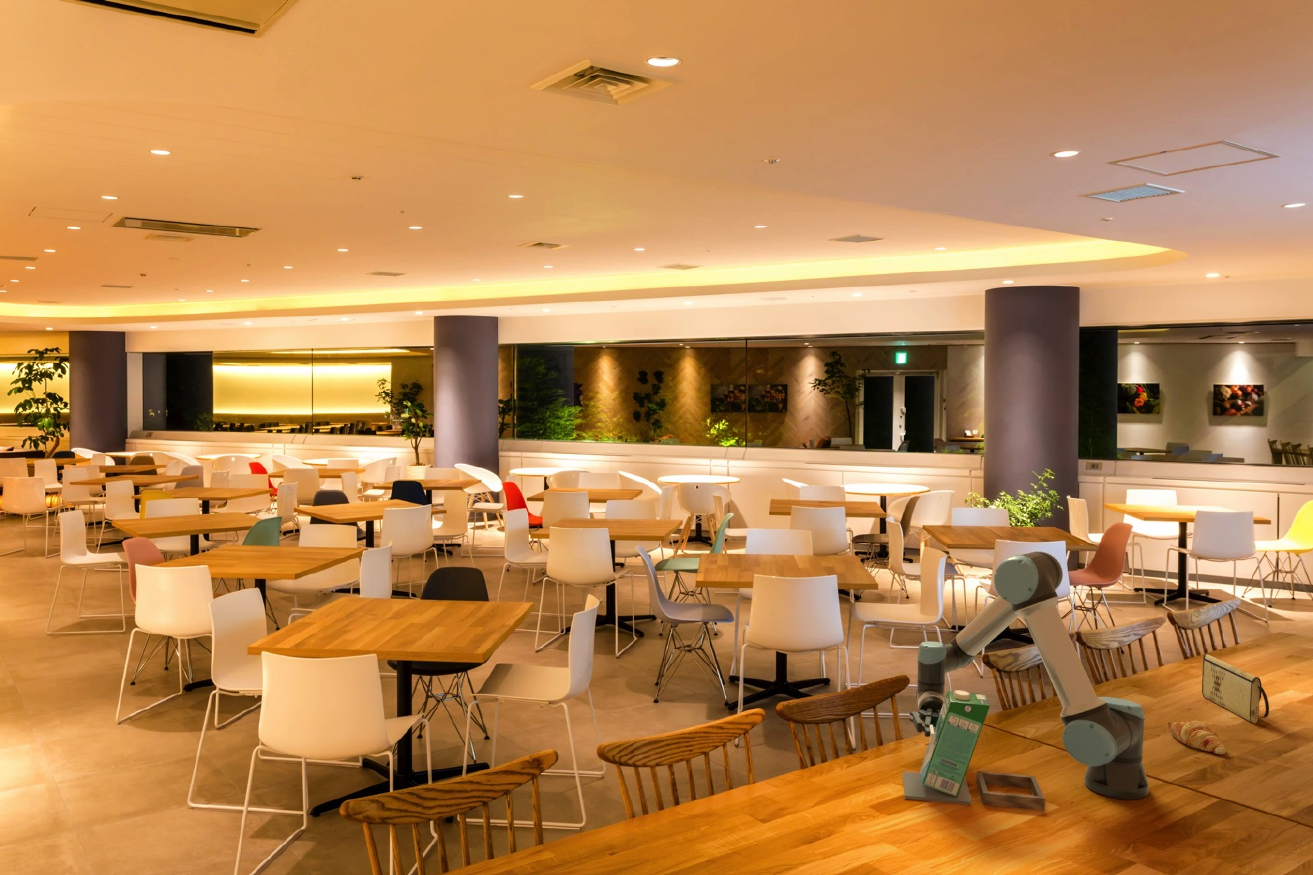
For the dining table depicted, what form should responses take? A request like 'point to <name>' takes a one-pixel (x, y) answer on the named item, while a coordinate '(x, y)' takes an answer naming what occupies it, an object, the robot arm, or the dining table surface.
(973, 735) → the milk carton
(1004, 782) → the frame
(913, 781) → the slate coaster
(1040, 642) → the robot arm
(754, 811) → the dining table surface
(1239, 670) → the clutch purse
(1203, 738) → the croissant
